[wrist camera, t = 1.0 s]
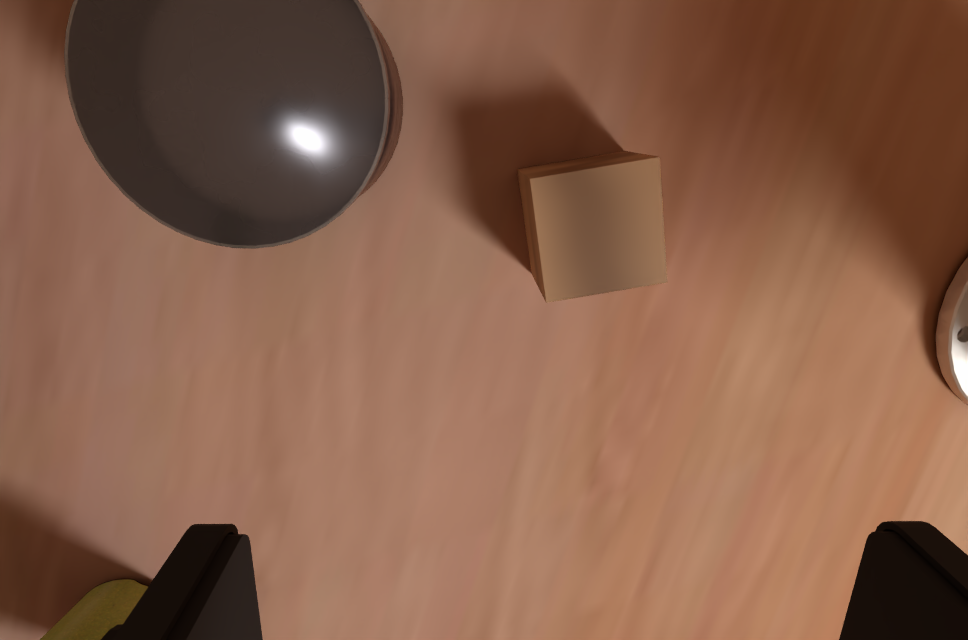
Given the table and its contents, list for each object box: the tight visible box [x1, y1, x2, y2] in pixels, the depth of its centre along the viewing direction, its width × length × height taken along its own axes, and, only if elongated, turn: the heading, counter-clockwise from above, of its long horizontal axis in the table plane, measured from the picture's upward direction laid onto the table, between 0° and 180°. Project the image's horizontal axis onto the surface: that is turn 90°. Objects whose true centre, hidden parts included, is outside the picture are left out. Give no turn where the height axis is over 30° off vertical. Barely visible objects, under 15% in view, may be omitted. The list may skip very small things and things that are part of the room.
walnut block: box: [517, 151, 667, 303], centre depth 25 cm, size 5×5×5 cm
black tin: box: [64, 0, 403, 248], centre depth 22 cm, size 10×10×7 cm
